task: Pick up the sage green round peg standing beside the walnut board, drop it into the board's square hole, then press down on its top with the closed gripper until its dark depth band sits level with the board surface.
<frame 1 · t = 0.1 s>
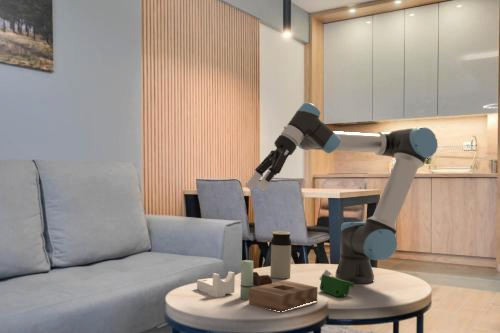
hand: (254, 188, 166), 36 cm above the table, tool tilted 35°, fingers open, 13 cm apart
bolt: (257, 286, 177), on the table
travel mug: (280, 277, 193), on the table
peg: (246, 298, 158), on the table
bracket: (215, 293, 165), on the table
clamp: (337, 294, 167), on the table
board: (283, 303, 152), on the table
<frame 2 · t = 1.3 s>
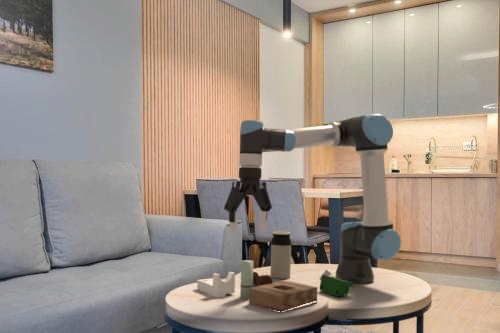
hand: (248, 231, 158), 22 cm above the table, tool pointing down, fingers open, 13 cm apart
nothing on the table moved.
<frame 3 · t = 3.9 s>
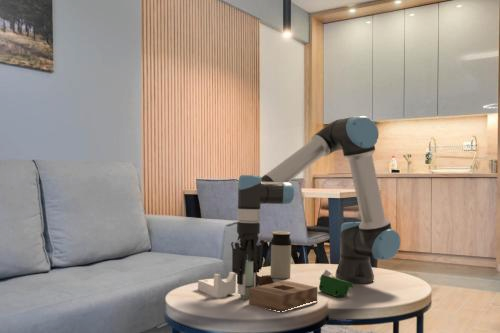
hand: (246, 292, 158), 2 cm above the table, tool pointing down, fingers closed on peg, 4 cm apart
peg: (246, 298, 158), on the table, touching gripper
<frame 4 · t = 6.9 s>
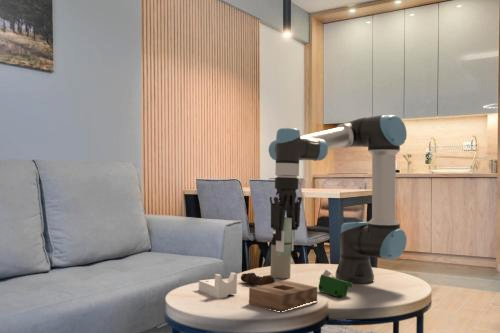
hand: (284, 250, 152), 17 cm above the table, tool pointing down, fingers closed on peg, 4 cm apart
peg: (284, 255, 152), point 15 cm above the table, touching gripper
when the fingers open (8 cm above the table, at t = 9.0 s): peg drops 5 cm, resting on board.
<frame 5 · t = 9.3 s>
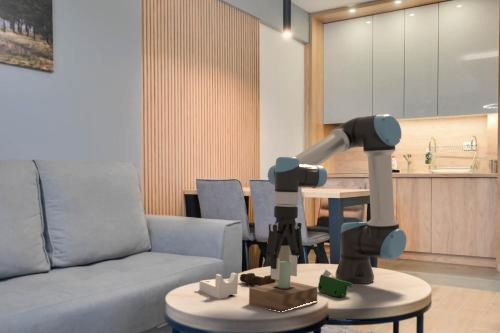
hand: (284, 277, 152), 8 cm above the table, tool pointing down, fingers open, 8 cm apart
peg: (283, 300, 152), point 1 cm above the table, touching board
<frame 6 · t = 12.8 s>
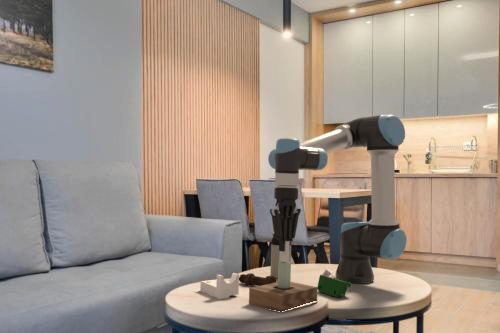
hand: (284, 261, 152), 13 cm above the table, tool pointing down, fingers closed
peg: (283, 300, 152), point 1 cm above the table, touching board, gripper
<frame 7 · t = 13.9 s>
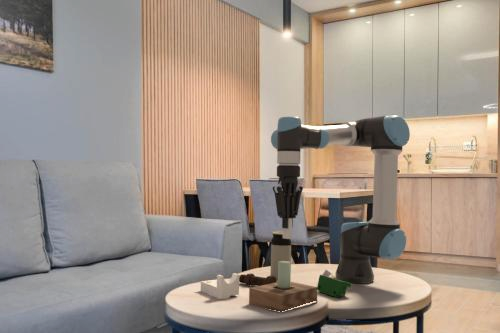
hand: (287, 238, 154), 20 cm above the table, tool pointing down, fingers closed
peg: (283, 300, 152), point 1 cm above the table, touching board
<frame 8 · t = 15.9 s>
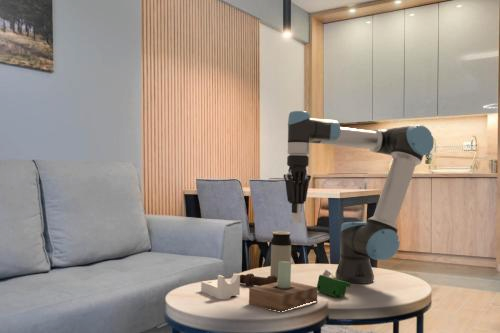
hand: (296, 222, 169), 24 cm above the table, tool pointing down, fingers closed
at the end: peg 0.1 cm off-centre on the board, point 1.0 cm above the board's base; peg tilted 1°; the gripper is holding nothing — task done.
